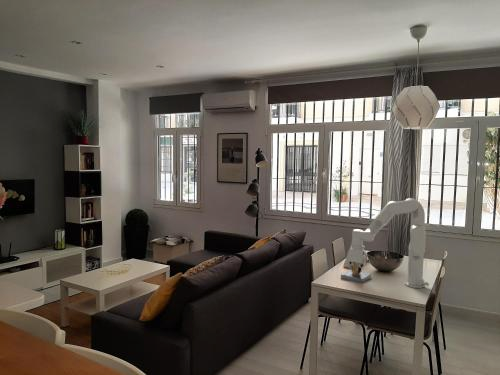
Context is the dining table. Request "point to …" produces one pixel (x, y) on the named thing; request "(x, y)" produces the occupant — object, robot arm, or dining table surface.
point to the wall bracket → (346, 263)
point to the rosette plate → (355, 278)
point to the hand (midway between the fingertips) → (356, 271)
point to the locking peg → (355, 269)
